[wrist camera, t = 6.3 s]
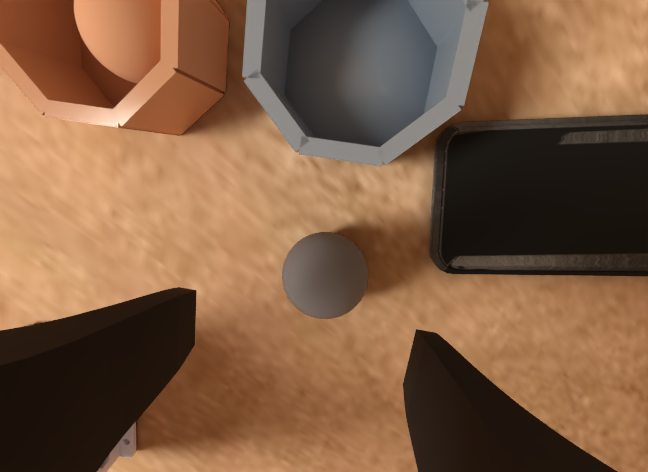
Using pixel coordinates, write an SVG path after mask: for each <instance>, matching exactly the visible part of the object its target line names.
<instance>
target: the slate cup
mask: <svg viewBox="0 0 648 472" xmlns="http://www.w3.org/2000/svg"><path fill="white" fill-rule="evenodd" d="M484 1H485V0H247V10H246V25H245V40H244V55H243V70H242V77H243V78H245V80H244V83H245V84H246V85H247V87H248V88H249V89H250V91H251V92H252V94H253V95H254V96H255V98H256V99H257V100H258V102H259V103H260V104H261V106H262V107H263V108H264V110H265V111H266V113H267V114H268V115H269V117H270V118H271V119H272V121H273V122H274V123H275V125H276V126H277V127H278V129H279V130H280V132H281V133H282V134H283V136H284V137H285V138H286V140H287V141H288V142H289V144H290V145H291V146H292V148H293V149H294V151H295V152H299V154H301V155H308V156H315V157H322V158H328V159H335V160H342V161H349V162H356V163H362V164H369V165H376V166H382V165H387V164H388V163H389V162H391V161H392V160H394V159H395V158H396V157H398V156H399V155H400V154H402V153H403V152H405V151H406V150H407V149H409V148H410V147H411V146H413V145H414V144H415V143H417V142H418V141H420V140H421V139H422V138H424V137H425V136H426V135H428V134H429V133H431V132H432V131H433V130H435V129H436V128H437V127H439V126H440V125H441V124H443V123H444V122H446V121H447V120H448V119H450V118H451V117H452V116H454V115H455V114H456V113H458V112H459V111H461V109H460V108H461V107H463V106H464V104H465V100H466V96H467V92H468V88H469V83H470V79H471V75H472V71H473V67H474V62H475V58H476V54H477V50H478V46H479V42H480V37H481V33H482V29H483V25H484V21H485V16H486V12H487V8H488V4H489V2H484Z"/></svg>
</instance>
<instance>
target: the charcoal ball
mask: <svg viewBox="0 0 648 472" xmlns="http://www.w3.org/2000/svg"><path fill="white" fill-rule="evenodd" d="M282 280H283V285H284V289H285V292H286V294H287V296H288V298H289V299H290V301H291V302H292V303H293V305H294V306H295V307H296V308H297V309H299V310H300V311H301V312H303V313H305V314H307V315H309V316H311V317H315V318H320V319H331V318H336V317H339V316H342V315H344V314H346V313H348V312H349V311H351V310H352V309H353V308H354V307H355V306H356V305H357V304H358V303H359V302H360V301H361V299H362V297H363V295H364V293H365V291H366V288H367V284H368V267H367V263H366V260H365V258H364V256H363V254H362V252H361V251H360V249H359V248H358V247H357V246H356V245H355V244H354V243H353V242H352V241H351V240H349V239H348V238H346V237H344V236H342V235H339V234H336V233H331V232H320V233H315V234H311V235H309V236H306V237H305V238H303V239H301V240H300V241H299V242H297V243H296V244H295V245H294V246H293V247H292V249H291V250H290V251H289V253H288V255H287V257H286V259H285V262H284V265H283V271H282Z"/></svg>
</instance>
